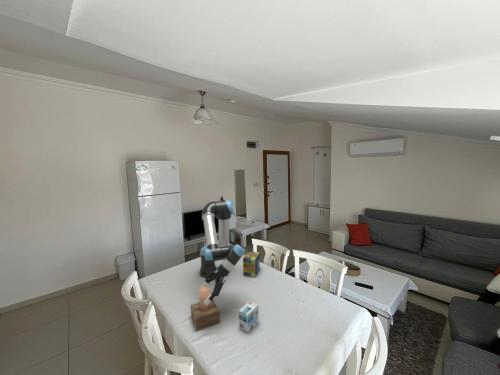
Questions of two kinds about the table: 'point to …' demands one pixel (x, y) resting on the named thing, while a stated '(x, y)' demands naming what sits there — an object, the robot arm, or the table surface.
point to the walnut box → (205, 315)
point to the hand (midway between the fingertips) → (202, 297)
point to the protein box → (251, 264)
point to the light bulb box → (248, 316)
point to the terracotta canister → (204, 298)
